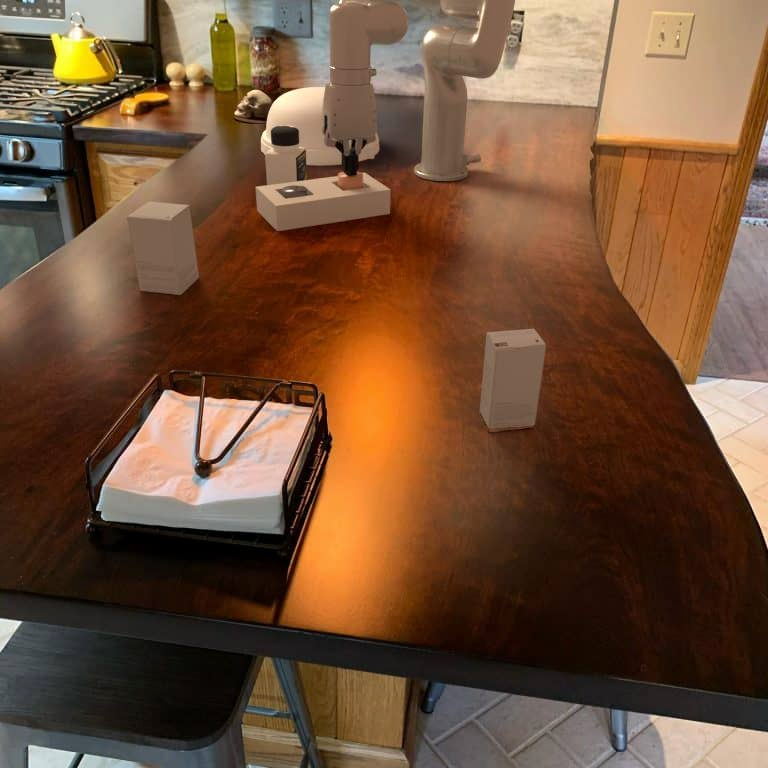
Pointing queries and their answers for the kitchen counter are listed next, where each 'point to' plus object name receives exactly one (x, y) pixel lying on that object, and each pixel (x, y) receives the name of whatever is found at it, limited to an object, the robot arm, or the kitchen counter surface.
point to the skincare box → (512, 378)
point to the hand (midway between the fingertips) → (350, 173)
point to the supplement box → (163, 247)
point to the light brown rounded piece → (350, 181)
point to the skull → (254, 107)
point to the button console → (321, 203)
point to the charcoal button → (294, 191)
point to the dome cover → (308, 126)
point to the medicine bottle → (285, 156)
